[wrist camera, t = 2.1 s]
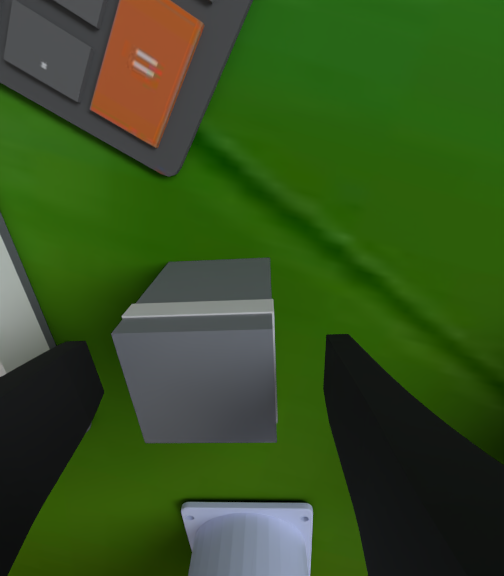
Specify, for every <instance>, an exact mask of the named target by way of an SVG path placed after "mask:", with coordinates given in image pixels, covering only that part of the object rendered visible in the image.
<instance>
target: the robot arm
mask: <svg viewBox="0 0 504 576" xmlns="http://www.w3.org/2000/svg"><path fill="white" fill-rule="evenodd" d="M323 389H324V395H325V401H326V407H327V413H328V418H329V423H330V427H331V430H332V434H333V437H334V441H335V445H336V448H337V452H338V455H339V458H340V462H341V465H342V469H343V472H344V476H345V479H346V483H347V486H348V490H349V493H350V496H351V500H352V503H353V507H354V511H355V515H356V519H357V523H358V527H359V531H360V536H361V541H362V546H363V551H364V556H365V561H366V566H367V571H368V576H504V465H502V464H501V463H500V462H498V461H497V460H495V459H494V458H492V457H491V456H489V455H488V454H487V453H485V452H484V451H482V450H481V449H480V448H478V447H477V446H476V445H474V444H473V443H472V442H470V441H469V440H468V439H466V438H465V437H463V436H462V435H461V434H459V433H458V432H457V431H455V430H454V429H453V428H451V427H450V426H449V425H447V424H446V423H445V422H444V421H442V420H441V419H440V418H439V417H437V416H436V415H435V414H434V413H432V412H431V411H430V410H429V409H428V408H426V407H425V406H424V405H423V404H422V403H420V402H419V401H418V400H417V399H416V398H414V397H413V396H412V395H411V394H410V393H409V392H408V391H406V390H405V389H404V388H403V387H402V386H401V385H400V384H399V383H398V382H397V381H396V380H394V379H393V378H392V377H391V376H390V375H389V374H388V373H387V372H386V371H385V370H384V369H383V368H382V367H381V366H380V365H379V364H378V363H377V362H376V361H375V360H374V359H373V358H372V357H371V356H370V355H369V354H368V353H367V352H366V351H365V350H364V349H363V348H362V347H361V346H360V345H359V344H358V343H357V342H356V341H355V340H354V339H353V338H352V337H351V336H350V335H349V334H333V335H326V352H325V370H324V387H323ZM103 394H104V390H103V387H102V384H101V382H100V379H99V376H98V374H97V371H96V368H95V365H94V363H93V360H92V357H91V355H90V352H89V349H88V346H87V344H86V341H70V342H64V343H62V344H60V345H58V346H56V347H54V348H52V349H50V350H48V351H46V352H44V353H42V354H41V355H39V356H37V357H35V358H33V359H31V360H30V361H28V362H26V363H24V364H23V365H21V366H19V367H17V368H15V369H14V370H12V371H10V372H8V373H7V374H5V375H3V376H1V377H0V576H7V575H8V573H9V571H10V569H11V567H12V565H13V563H14V561H15V559H16V557H17V555H18V552H19V550H20V548H21V546H22V544H23V542H24V540H25V538H26V536H27V534H28V532H29V530H30V528H31V526H32V524H33V522H34V520H35V518H36V517H37V515H38V513H39V511H40V509H41V507H42V506H43V504H44V502H45V500H46V499H47V497H48V495H49V494H50V492H51V490H52V489H53V487H54V485H55V484H56V482H57V480H58V479H59V477H60V475H61V474H62V472H63V470H64V469H65V467H66V465H67V463H68V462H69V460H70V458H71V457H72V455H73V453H74V452H75V450H76V448H77V447H78V445H79V443H80V441H81V440H82V438H83V436H84V435H85V433H86V431H87V429H88V428H89V426H90V424H91V422H92V420H93V417H94V415H95V413H96V411H97V408H98V406H99V404H100V401H101V399H102V396H103ZM181 515H182V518H183V522H184V525H185V529H186V532H187V536H188V540H189V543H190V547H191V550H192V556H191V562H190V567H189V573H188V576H310V567H311V546H312V524H313V509H312V506H311V505H310V504H308V503H288V502H185V503H183V505H182V508H181Z"/></svg>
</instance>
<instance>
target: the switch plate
mask: <svg viewBox="0 0 504 576" xmlns="http://www.w3.org/2000/svg"><path fill="white" fill-rule="evenodd" d="M54 347H56V344H55V342H54V340H53V337H52V335H51V332H50V330H49V328H48V325H47V323H46V320H45V318H44V316H43V313H42V311H41V308H40V306H39V304H38V301H37V299H36V296H35V294H34V292H33V289H32V287H31V284H30V282H29V280H28V277H27V275H26V272H25V270H24V268H23V265H22V263H21V260H20V258H19V256H18V253H17V251H16V248H15V246H14V244H13V241H12V239H11V236H10V234H9V232H8V229H7V227H6V224H5V222H4V220H3V217H2V215H1V212H0V377H1V376H3V375H5V374H7V373H8V372H10V371H12V370H14V369H15V368H17V367H19V366H21V365H23V364H24V363H26V362H28V361H30V360H31V359H33V358H35V357H37V356H39V355H41V354H42V353H44V352H46V351H48V350H50V349H52V348H54Z"/></svg>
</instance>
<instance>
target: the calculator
mask: <svg viewBox="0 0 504 576" xmlns="http://www.w3.org/2000/svg"><path fill="white" fill-rule="evenodd" d="M252 1H253V0H0V83H2V84H4V85H6V86H7V87H9V88H11V89H13V90H14V91H16V92H18V93H20V94H21V95H23V96H25V97H27V98H28V99H30V100H32V101H34V102H35V103H37V104H39V105H41V106H42V107H44V108H46V109H48V110H50V111H51V112H53V113H55V114H57V115H58V116H60V117H62V118H64V119H65V120H67V121H69V122H71V123H72V124H74V125H76V126H78V127H79V128H81V129H83V130H85V131H86V132H88V133H90V134H92V135H93V136H95V137H97V138H99V139H100V140H102V141H104V142H106V143H108V144H109V145H111V146H113V147H115V148H116V149H118V150H120V151H122V152H123V153H125V154H127V155H129V156H130V157H132V158H134V159H136V160H137V161H139V162H141V163H143V164H144V165H146V166H148V167H150V168H151V169H153V170H155V171H157V172H158V173H160V174H163V175H166V176H168V177H169V176H172V175H175V174H177V173H178V172H179V170H180V169H181V168H182V165H183V163H184V161H185V158H186V156H187V154H188V151H189V149H190V147H191V144H192V142H193V139H194V137H195V135H196V132H197V130H198V128H199V125H200V123H201V121H202V118H203V116H204V114H205V111H206V109H207V107H208V104H209V102H210V100H211V97H212V95H213V93H214V90H215V88H216V86H217V83H218V81H219V79H220V76H221V74H222V72H223V69H224V67H225V65H226V62H227V60H228V58H229V55H230V53H231V51H232V48H233V46H234V44H235V41H236V39H237V37H238V34H239V32H240V30H241V27H242V25H243V22H244V20H245V18H246V15H247V13H248V11H249V8H250V6H251V4H252Z"/></svg>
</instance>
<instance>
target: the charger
mask: <svg viewBox="0 0 504 576" xmlns="http://www.w3.org/2000/svg"><path fill="white" fill-rule="evenodd" d="M111 335H112V338H113V342H114V345H115V348H116V351H117V354H118V357H119V361H120V364H121V367H122V370H123V373H124V377H125V380H126V383H127V386H128V389H129V392H130V396H131V399H132V402H133V405H134V408H135V412H136V415H137V418H138V421H139V424H140V428H141V431H142V434H143V437H144V440H145V443H258V442H277V435H276V422H278V420H277V390H276V360H275V329H274V303H273V299H271V273H270V258H252V259H228V260H205V261H181V262H168V264H167V265H166V266H165V267H164V269H163V270H162V271H161V272H160V274H159V275H158V276H157V277H156V279H155V280H154V281H153V282H152V284H151V285H150V286H149V287H148V288H147V290H146V291H145V292H144V293H143V295H142V296H141V297H140V298H139V300H138V301H137V302H136V303H135V304H131V306H130V307H129V308H128V309H127V310H126V312H125V313H124V314H123V315H122V321H121V322H120V323H119V324H118V326H117V327H116V328H115V329H114V331H113V332H112V333H111Z"/></svg>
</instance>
